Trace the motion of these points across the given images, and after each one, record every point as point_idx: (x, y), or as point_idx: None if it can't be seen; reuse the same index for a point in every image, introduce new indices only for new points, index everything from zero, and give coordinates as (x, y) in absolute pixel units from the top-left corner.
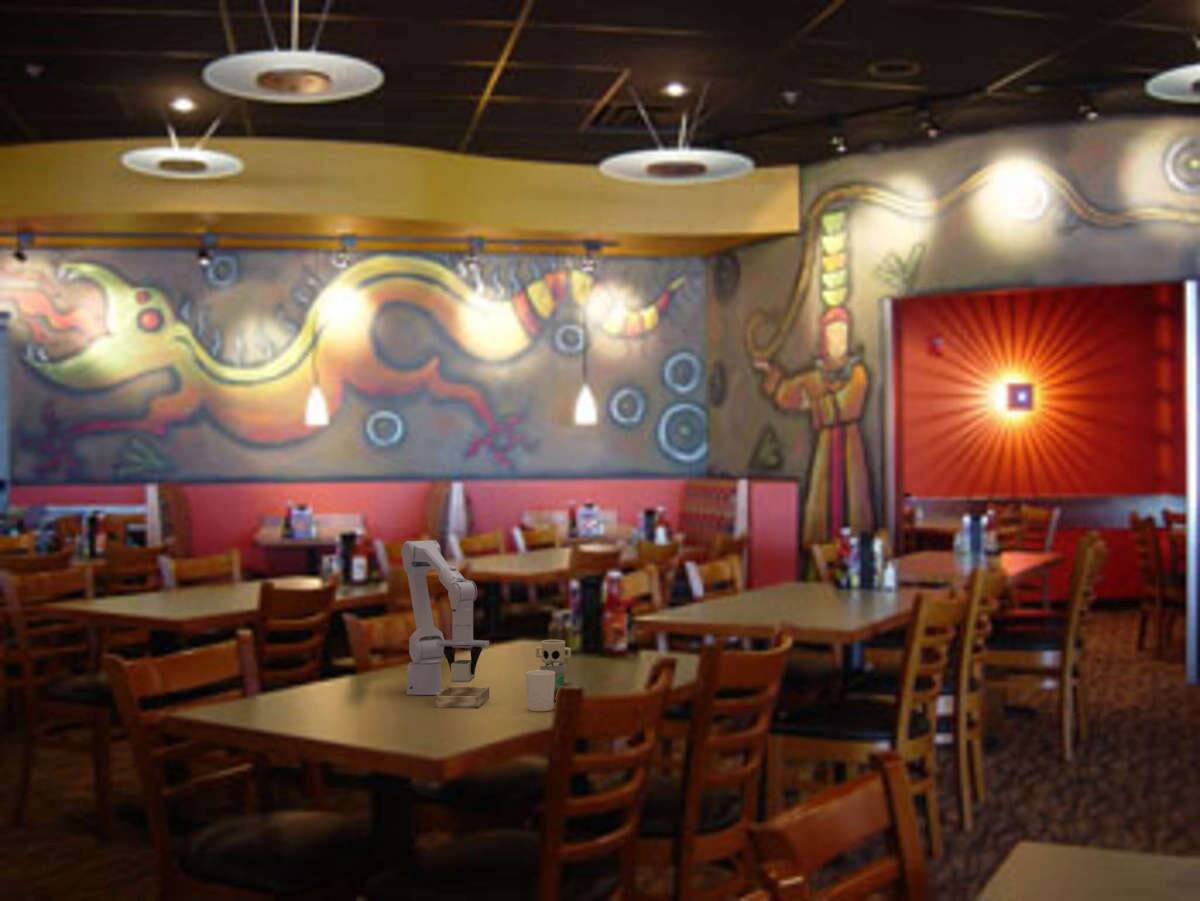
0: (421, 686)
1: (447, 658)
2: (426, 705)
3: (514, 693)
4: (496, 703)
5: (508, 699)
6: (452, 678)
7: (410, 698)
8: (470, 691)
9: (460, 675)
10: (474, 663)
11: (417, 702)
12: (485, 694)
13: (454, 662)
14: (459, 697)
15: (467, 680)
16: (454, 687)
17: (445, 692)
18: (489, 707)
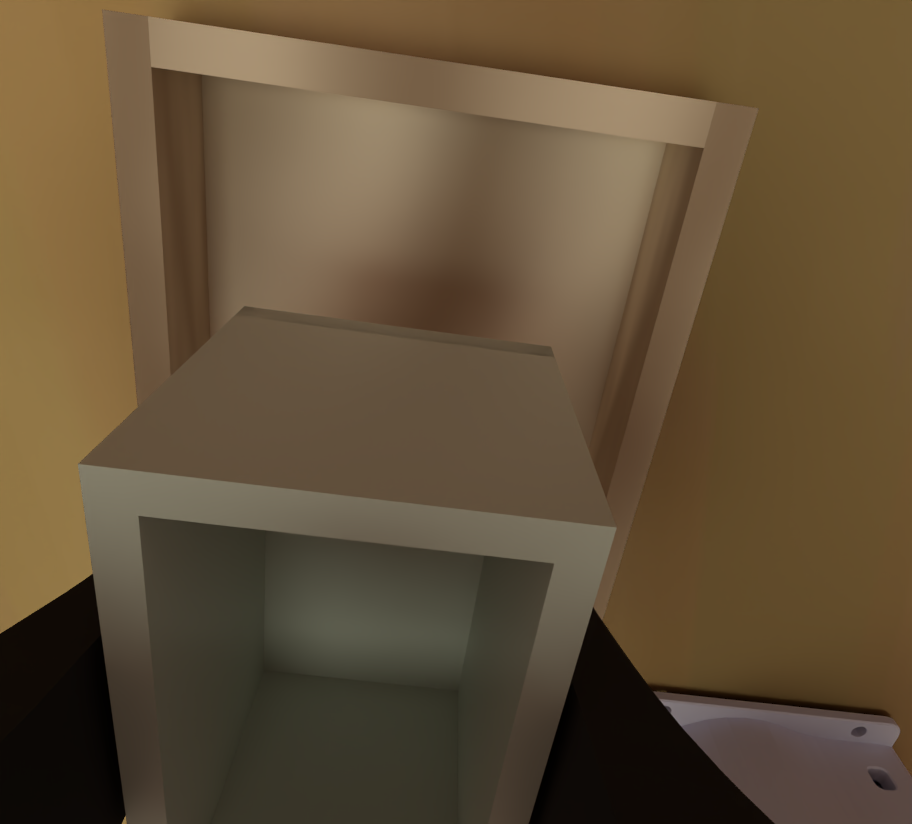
0: (805, 775)
1: (738, 800)
2: (791, 250)
3: None
4: (56, 336)
5: (9, 524)
6: (532, 367)
7: (886, 597)
8: None
9: (377, 371)
10: (8, 635)
11: (858, 419)
12: None
13: (521, 726)
14: (400, 54)
15: (260, 316)
16: None
17: None
18: (57, 87)
